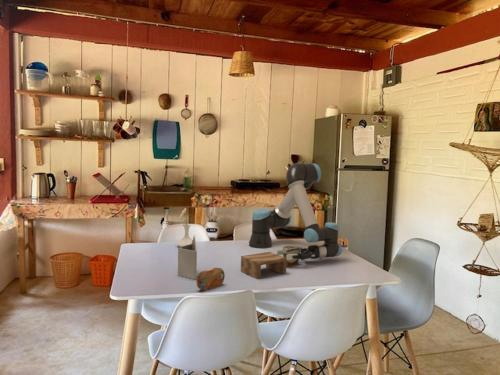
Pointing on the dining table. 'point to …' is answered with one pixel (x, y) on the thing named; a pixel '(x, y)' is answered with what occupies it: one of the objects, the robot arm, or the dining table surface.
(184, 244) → the flower in vase
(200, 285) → the tin
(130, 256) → the dining table surface
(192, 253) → the planter
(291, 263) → the food container
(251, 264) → the walnut shelf
